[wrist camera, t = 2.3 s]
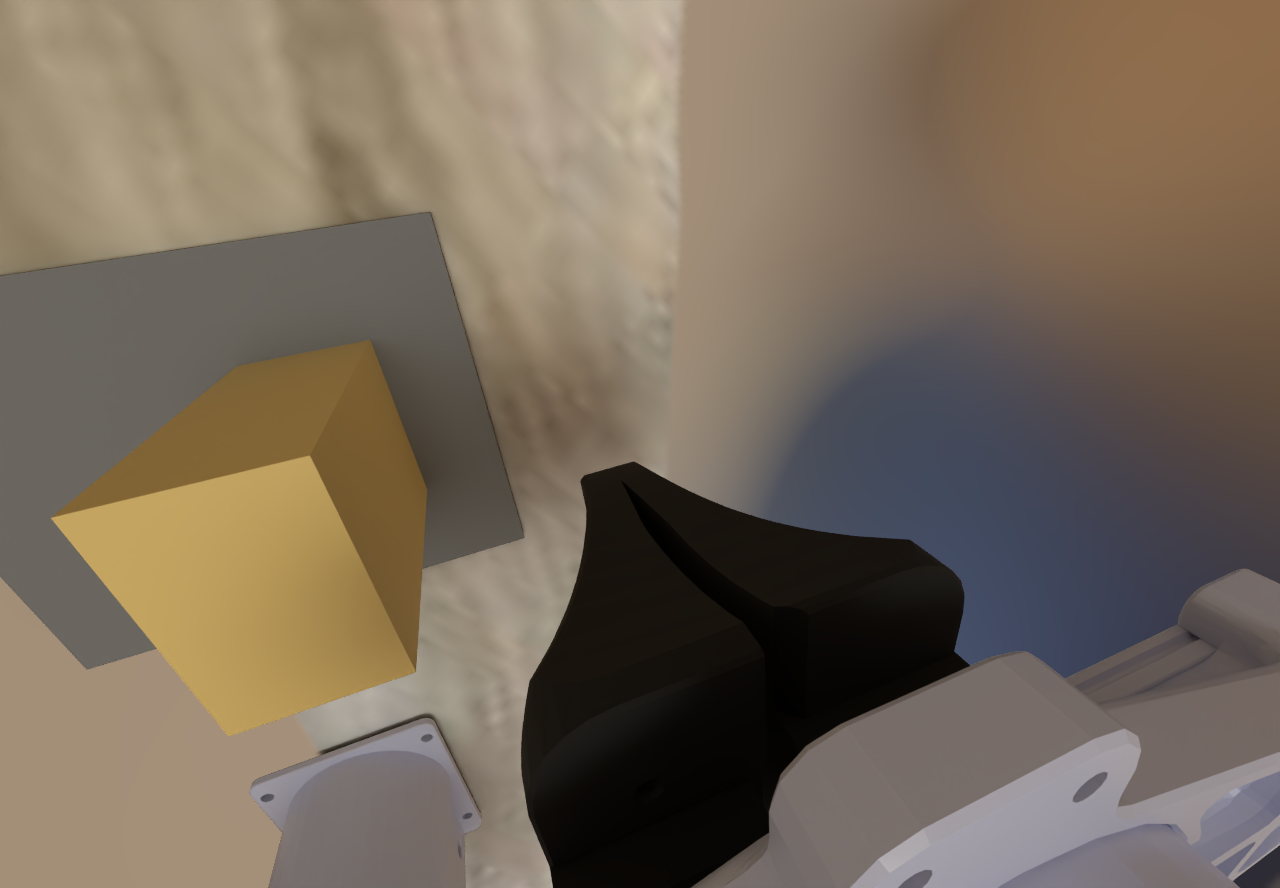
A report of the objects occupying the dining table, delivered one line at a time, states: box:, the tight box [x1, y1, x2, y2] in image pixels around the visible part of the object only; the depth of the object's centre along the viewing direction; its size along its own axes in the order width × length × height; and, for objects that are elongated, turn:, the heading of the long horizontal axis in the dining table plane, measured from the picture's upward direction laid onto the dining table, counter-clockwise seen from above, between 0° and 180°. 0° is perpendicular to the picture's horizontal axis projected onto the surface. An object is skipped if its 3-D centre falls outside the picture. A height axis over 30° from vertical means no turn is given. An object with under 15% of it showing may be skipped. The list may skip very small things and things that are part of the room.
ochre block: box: [51, 340, 427, 736], centre depth 14 cm, size 6×4×9 cm, turn 7°
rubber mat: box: [0, 212, 524, 669], centre depth 18 cm, size 13×16×1 cm
